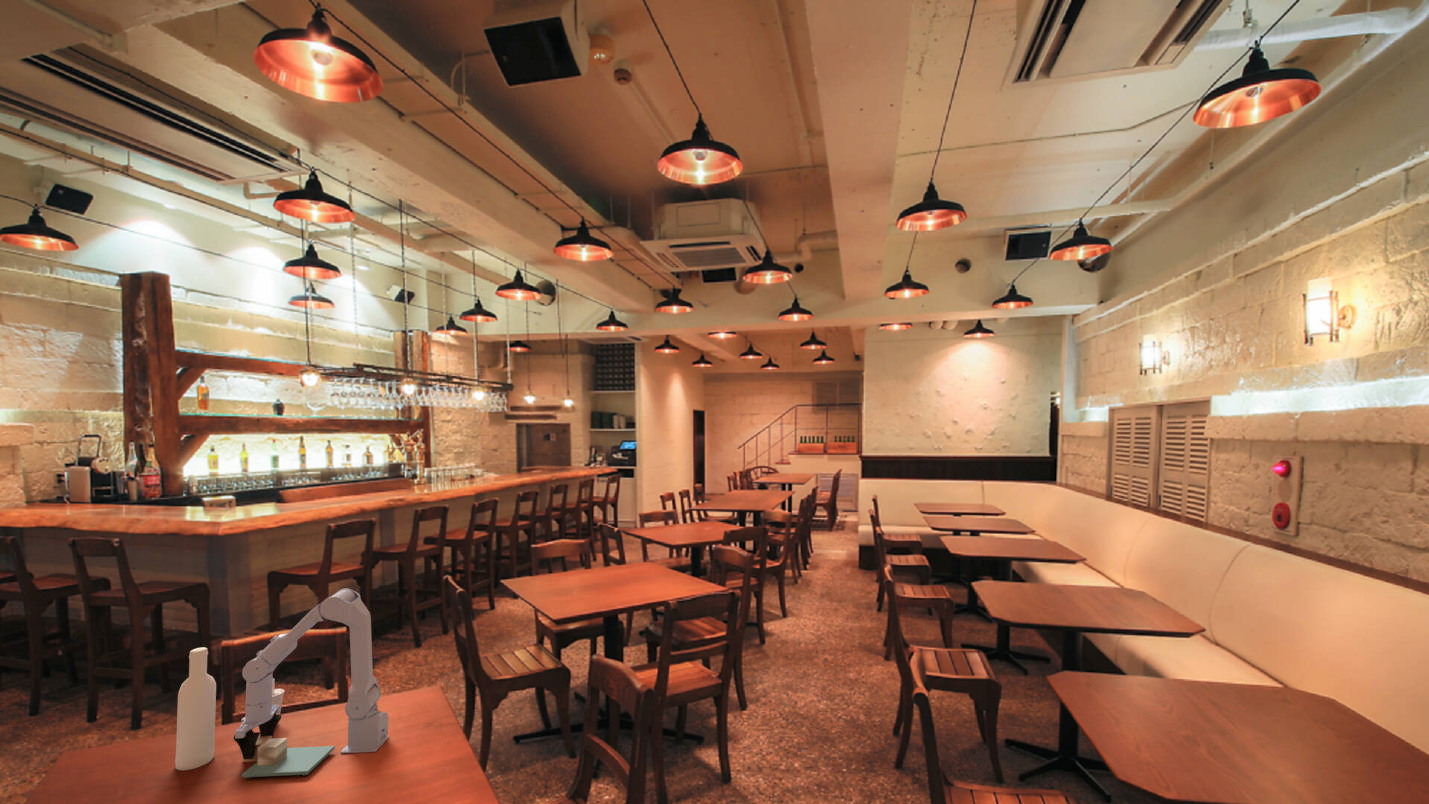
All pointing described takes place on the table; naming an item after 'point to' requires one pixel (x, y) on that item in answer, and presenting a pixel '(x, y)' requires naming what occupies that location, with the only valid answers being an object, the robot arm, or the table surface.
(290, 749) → the teal board
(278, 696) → the smoothie
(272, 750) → the cream block
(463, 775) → the table surface
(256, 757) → the brown block
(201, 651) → the bottle
